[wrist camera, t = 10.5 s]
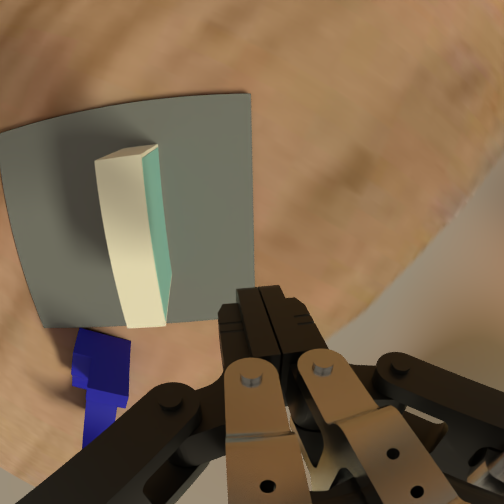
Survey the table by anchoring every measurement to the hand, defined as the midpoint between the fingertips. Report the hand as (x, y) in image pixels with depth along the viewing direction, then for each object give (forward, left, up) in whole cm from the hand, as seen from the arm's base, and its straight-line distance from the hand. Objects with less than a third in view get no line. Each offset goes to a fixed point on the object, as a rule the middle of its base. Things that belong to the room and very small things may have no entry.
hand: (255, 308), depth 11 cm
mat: (0, -7, -11) cm, 13 cm away
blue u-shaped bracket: (+14, -13, -11) cm, 22 cm away
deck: (-1, -5, -11) cm, 12 cm away
